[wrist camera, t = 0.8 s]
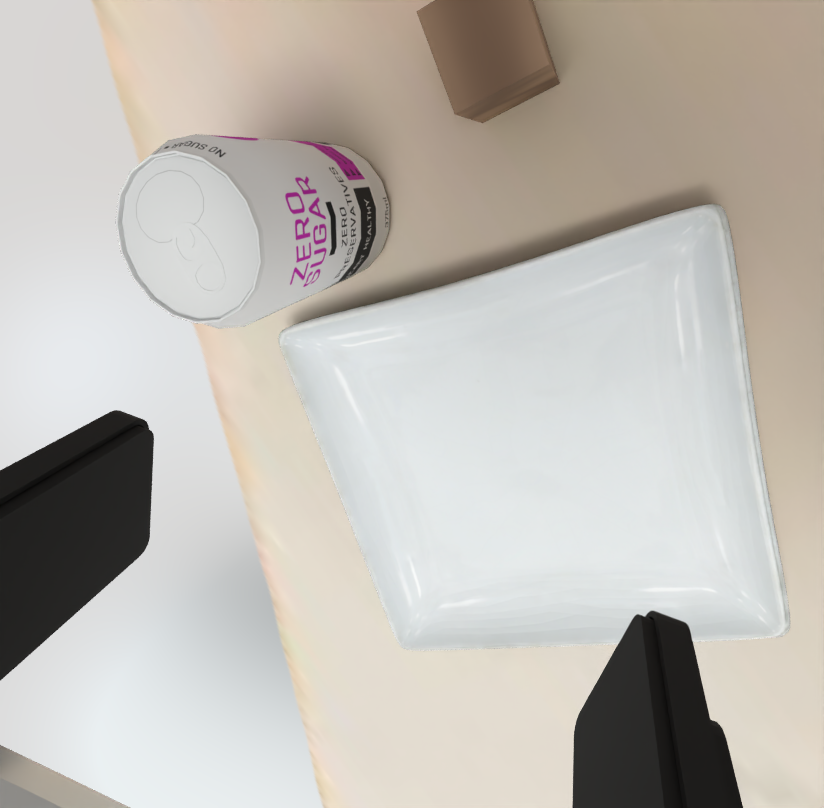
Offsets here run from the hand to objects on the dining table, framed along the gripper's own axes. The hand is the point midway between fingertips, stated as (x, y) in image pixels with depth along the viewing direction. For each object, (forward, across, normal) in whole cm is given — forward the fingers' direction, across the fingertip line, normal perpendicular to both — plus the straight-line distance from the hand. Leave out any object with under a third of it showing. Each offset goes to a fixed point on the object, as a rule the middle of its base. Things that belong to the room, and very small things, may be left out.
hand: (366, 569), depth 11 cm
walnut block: (+28, +4, -11) cm, 31 cm away
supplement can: (+29, +13, -1) cm, 31 cm away
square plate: (+29, -4, +11) cm, 31 cm away
